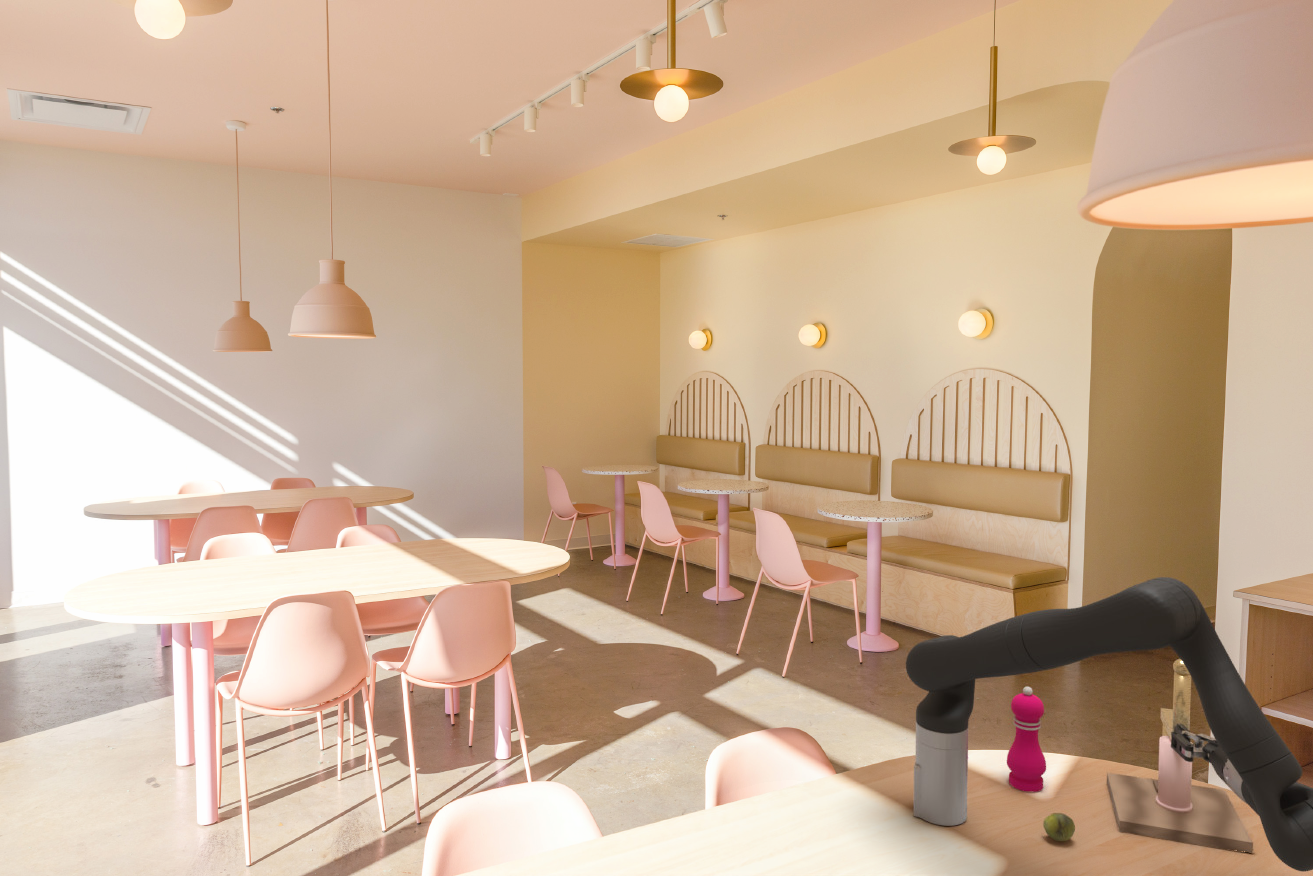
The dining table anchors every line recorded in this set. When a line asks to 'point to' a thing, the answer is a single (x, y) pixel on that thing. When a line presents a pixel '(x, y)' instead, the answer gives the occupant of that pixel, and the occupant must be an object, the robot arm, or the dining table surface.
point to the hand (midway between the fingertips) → (1206, 730)
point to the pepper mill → (1026, 743)
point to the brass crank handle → (1178, 700)
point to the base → (1177, 815)
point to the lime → (1059, 826)
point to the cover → (1173, 779)
